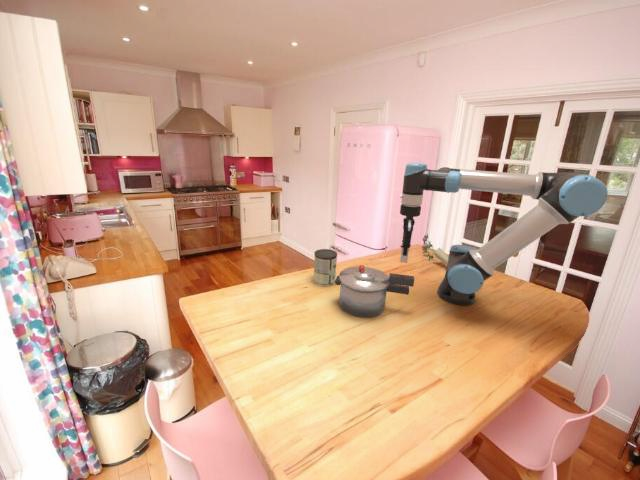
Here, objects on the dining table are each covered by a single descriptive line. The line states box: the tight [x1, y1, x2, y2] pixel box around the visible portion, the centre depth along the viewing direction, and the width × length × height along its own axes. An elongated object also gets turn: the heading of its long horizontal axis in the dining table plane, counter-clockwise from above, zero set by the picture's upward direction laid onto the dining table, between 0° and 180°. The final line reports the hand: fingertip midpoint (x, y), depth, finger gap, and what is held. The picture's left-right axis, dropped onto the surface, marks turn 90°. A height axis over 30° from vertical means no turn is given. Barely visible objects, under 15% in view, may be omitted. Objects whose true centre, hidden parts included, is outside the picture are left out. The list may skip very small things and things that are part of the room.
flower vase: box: [421, 233, 449, 266], centre depth 164 cm, size 12×12×35 cm
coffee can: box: [313, 248, 338, 287], centre depth 136 cm, size 10×10×14 cm
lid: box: [338, 264, 415, 292], centre depth 115 cm, size 28×20×5 cm
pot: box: [334, 275, 410, 319], centre depth 118 cm, size 28×18×11 cm, turn 77°
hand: (403, 261), depth 121 cm, fingers closed
